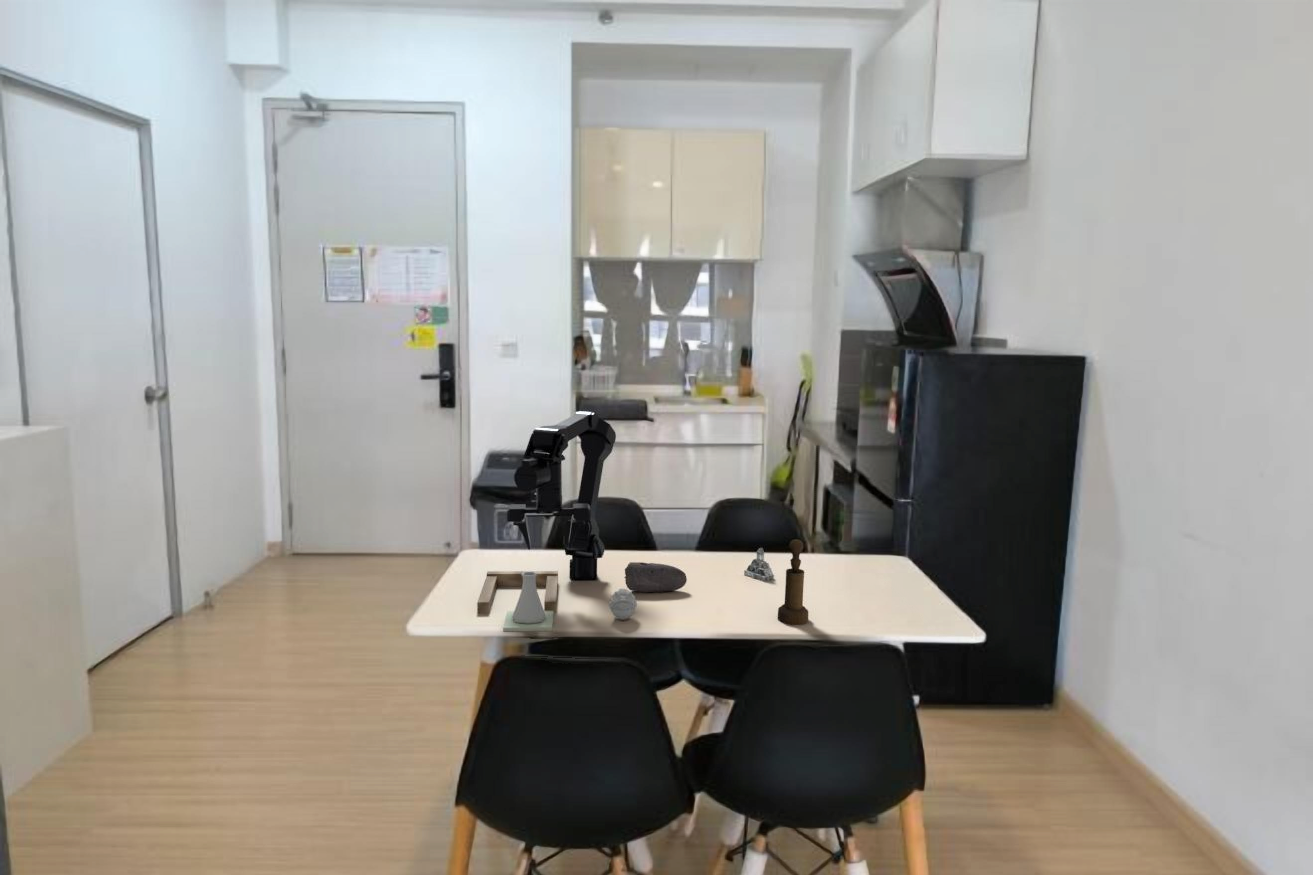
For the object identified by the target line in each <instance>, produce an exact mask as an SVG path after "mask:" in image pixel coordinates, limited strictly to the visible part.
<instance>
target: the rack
mask: <svg viewBox="0 0 1313 875" xmlns="http://www.w3.org/2000/svg"><path fill="white" fill-rule="evenodd" d="M532 571H533V570H532ZM523 572H527V571H526V570H523V571H519V570H518V571H515V570H514V571H513V570H512V571H511V570H509V571H506V570H505V571H503V570H502V571H496V570H495V571H492V570H491V571H487V572H486V575H485V576H486V577H485V579H484V582H483V584H482V585H483V586H482V588H481V591H480V594H479V597H478V599H477V604H476V607H477V608H476V610H477V611H476V613H477V614H490V611H491V609H492V608H491V607H492V605H493V601H494V599H495V598H494V597H495V595H496V594H495V593H496V592H497V587H515V586H516V587H517V586H518V587H519V586H521V587H522V585H523V577H522V573H523ZM533 572H536V573H537V576H536V587H537V586H538V587H539V586H540V587H542V586H543V587H544V586H545V592H544V602H543V603H544V604H543V605H544V606H543V609H544V611H553V614H554V613H557V602H558V587H559V570H534V571H533Z"/></svg>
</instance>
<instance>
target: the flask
mask: <svg viewBox="0 0 1313 875" xmlns="http://www.w3.org/2000/svg"><path fill="white" fill-rule="evenodd" d="M536 576H537V573H536V572H533V570H528V571H527V572H523V573H522V577H523V585H522V586H521V591H520V594H519V597H518V600H517V602H516V606H515V608H514V610H513V611H514V613H513V616H512V618H513V620H514V621H515V622H518V623H527V624H529V623H537V622H542V621H543V620H544V619H545V618H546V615H545V612H544V606H543V605H542V602H541V599H540V595H539V593H538V589H537V586H536Z"/></svg>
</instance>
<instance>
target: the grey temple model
mask: <svg viewBox="0 0 1313 875" xmlns="http://www.w3.org/2000/svg"><path fill="white" fill-rule="evenodd" d="M755 554H756V558H754V559H752V561H751V563H750V564H749V565H748V566H747V568H746V569H744V576H747V575H748V576H747V577H750V576H751V577H750V578H753V577H754V578H753V579H756V578H757V579H756V580H759V579H760V580H759V581H761V580H763V582H767V580H768V581H771V580H770V579H772V580H774V578H775V574H774V573H773V571H772V568H771V567H770V563H769V562H767V561H765V552H764V548H763V547H760V548H758V549H757V551H756V552H755Z"/></svg>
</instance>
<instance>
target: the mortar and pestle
mask: <svg viewBox="0 0 1313 875" xmlns="http://www.w3.org/2000/svg"><path fill="white" fill-rule="evenodd" d="M788 547H789V548H788V549H789V550H790V553H791V556H792V558H791V559H790V560H789V561H790V566H791V568H787V569H786V570H785V586H784V587H785V589H784V604H782V605H781V606H780V607H778V609H777V620H778V621H779V622H781V623H783V624H786V625H793V626H795V625H796V626H798V625H799V626H800V625H805V624H807V623H808V622H809V610H808V608H806V607H805V606H804V604H803V601H804V585H805V584H804V583H805V582H804V580H805V570H804V569H800V567H801V564H802V559H800V556H801V553H802V551H803V549H804V543H803V542H802V541H801V540H800V539H792V540H791V541H789V545H788Z"/></svg>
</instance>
